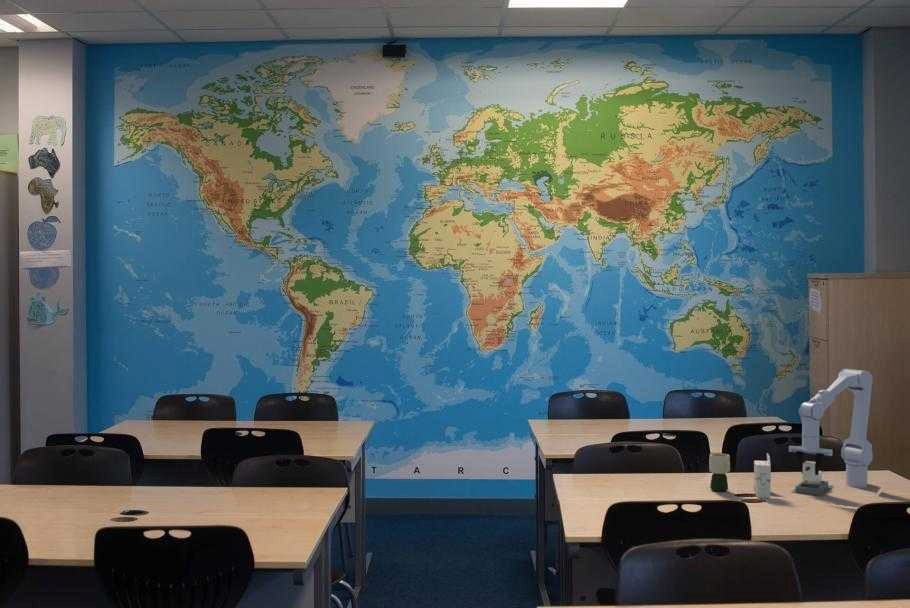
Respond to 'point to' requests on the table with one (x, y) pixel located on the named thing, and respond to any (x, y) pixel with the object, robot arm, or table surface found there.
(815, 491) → the grey rectangular tray
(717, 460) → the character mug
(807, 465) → the plug
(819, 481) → the twin plug
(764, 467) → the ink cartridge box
